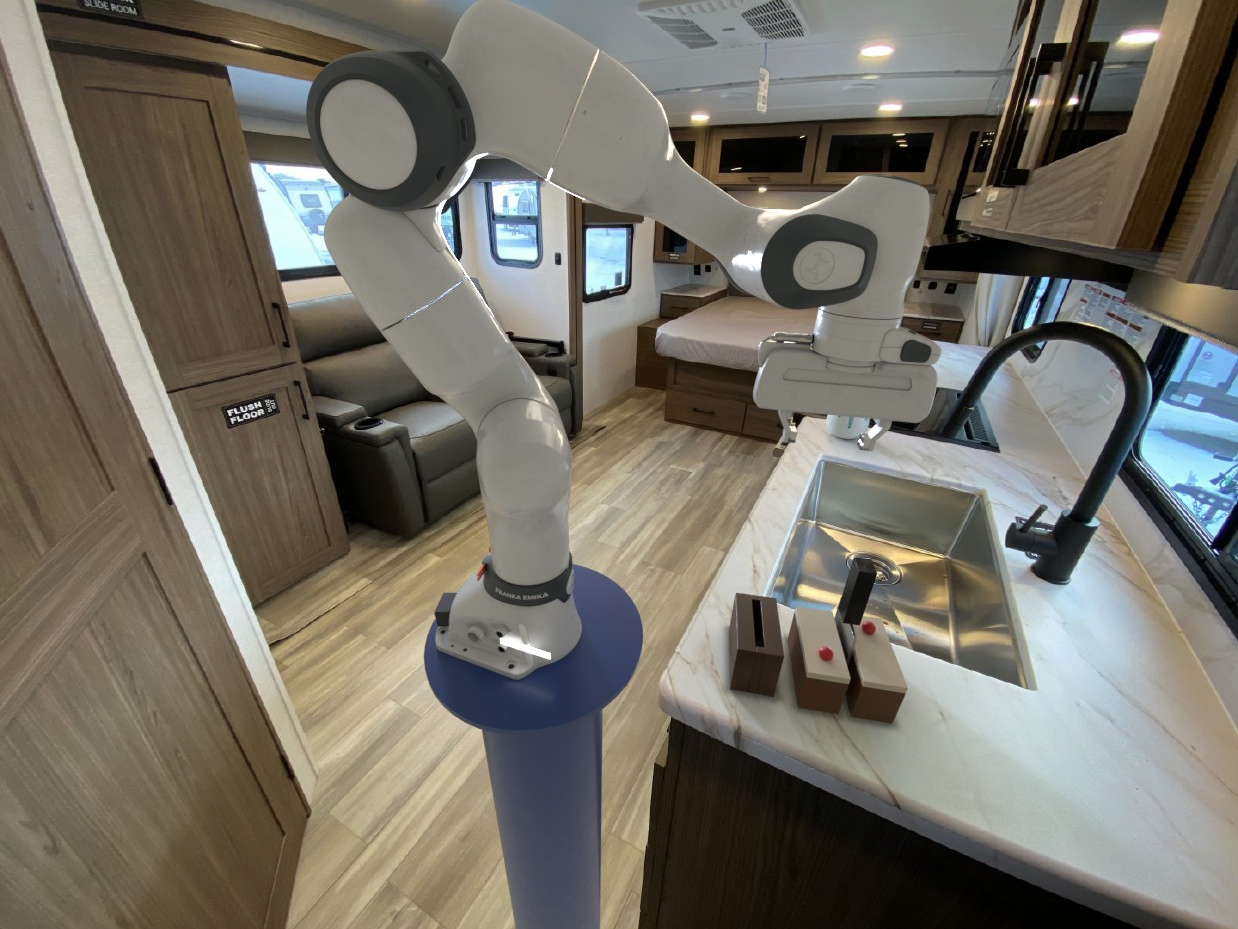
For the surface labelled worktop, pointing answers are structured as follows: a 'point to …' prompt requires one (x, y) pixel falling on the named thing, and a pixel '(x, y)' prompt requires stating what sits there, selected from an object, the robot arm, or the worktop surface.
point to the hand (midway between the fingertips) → (825, 445)
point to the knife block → (755, 645)
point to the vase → (847, 426)
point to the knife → (854, 602)
